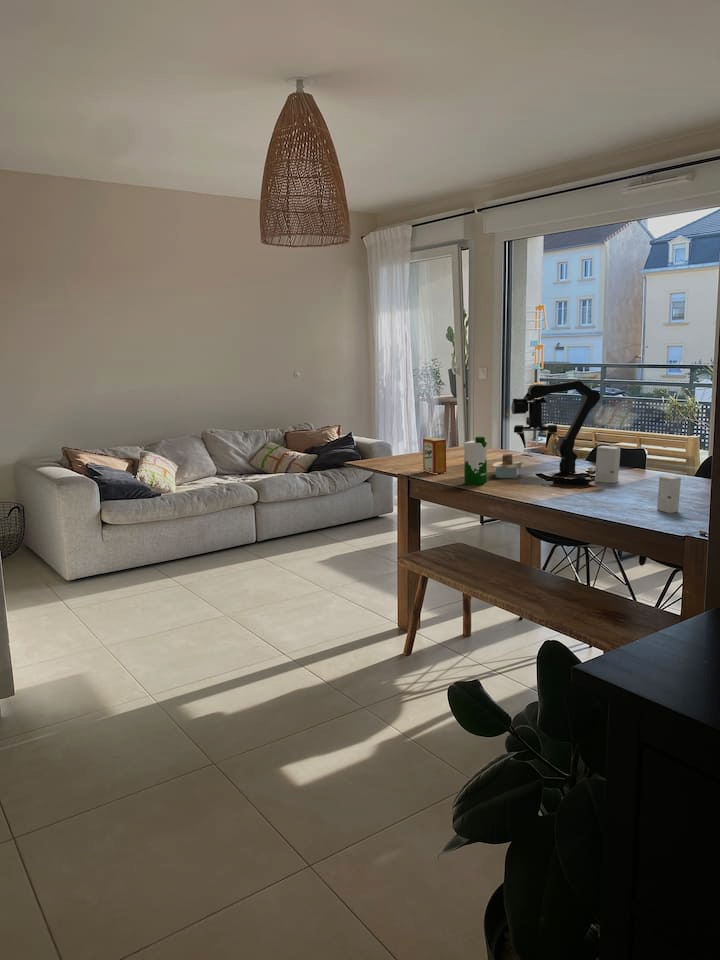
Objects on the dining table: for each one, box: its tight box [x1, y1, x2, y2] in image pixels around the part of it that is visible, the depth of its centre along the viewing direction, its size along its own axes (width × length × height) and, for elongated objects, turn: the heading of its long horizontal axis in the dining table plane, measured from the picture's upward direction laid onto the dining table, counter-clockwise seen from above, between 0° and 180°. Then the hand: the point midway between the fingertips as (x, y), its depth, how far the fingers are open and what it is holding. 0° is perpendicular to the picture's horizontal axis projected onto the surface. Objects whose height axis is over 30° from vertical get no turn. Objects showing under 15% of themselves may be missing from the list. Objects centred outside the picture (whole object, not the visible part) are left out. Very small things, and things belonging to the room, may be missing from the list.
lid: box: [492, 453, 523, 469], centre depth 333 cm, size 12×12×5 cm
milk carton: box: [462, 436, 489, 486], centre depth 320 cm, size 9×9×20 cm
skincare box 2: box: [656, 474, 682, 514], centre depth 261 cm, size 6×4×12 cm
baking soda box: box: [422, 437, 447, 474], centre depth 350 cm, size 10×6×16 cm
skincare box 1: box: [594, 445, 621, 484], centre depth 315 cm, size 8×6×15 cm
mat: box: [517, 477, 554, 486], centre depth 321 cm, size 14×14×1 cm
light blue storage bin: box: [495, 468, 519, 479], centre depth 334 cm, size 9×9×5 cm
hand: (535, 447), depth 338 cm, fingers open, 9 cm apart
